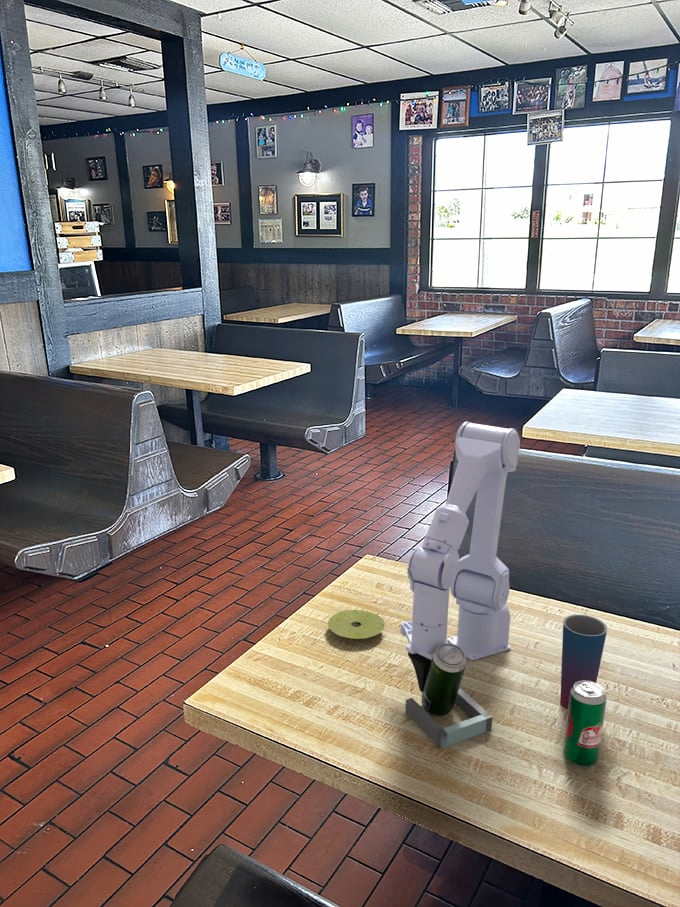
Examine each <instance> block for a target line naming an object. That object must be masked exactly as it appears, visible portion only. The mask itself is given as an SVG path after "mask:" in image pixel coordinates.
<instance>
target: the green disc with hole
mask: <svg viewBox="0 0 680 907" xmlns="http://www.w3.org/2000/svg"><path fill="white" fill-rule="evenodd" d="M327 625H328V628H329V629H330V631H331V632H333V633H334V634H335V635H337V636H340V637H344V638H348V639H351V640H352V639H354V640H356V639H358V640H361V639H369V638H372V637H374V636H377V635H379V634H381V632H383V631H384V628H385V621H384V619H383V618H382V617H381V616H380V615H378V614H377V613H374V612H372V611H368V610H362V609H348V610H342V611H338V612H336V613H335V614H333V615H332V616H331V617H329V619H328V622H327Z"/></svg>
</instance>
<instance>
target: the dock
mask: <svg viewBox="0 0 680 907" xmlns="http://www.w3.org/2000/svg"><path fill="white" fill-rule="evenodd" d="M454 706H456V707H457V708H459V710H460V711H461V712H463V713H464V714H465V715H466V716H467V717H468V718H469V719H465V720H463V721H460V722H457V723H454V724H451V725H449V726H446V727H442V726H441V725H440V724H439V723H438V722H437V721H436V719H434V718H433V716H432V715H430V714H428V713H427V712H426V711H425V709H424V708H423V706H421V705H420V704H419V702H417V700H415V698H413V697H410V698H406V699H405V707H404V708H405V710H404V711H405V714H406V715H407V717H409V718H410V719H411V720H412V722H413V723H414V724H415V725H417V727H418V728H419V729H420V730H421V731H422V732H423V733H424V734H425V735H426V736H427V737H428V739H430V740H431V741H432V743H434V745H435V746H436V747H437V748H438V749H439V750H442V749H444V748H447V747H450V746H452V745H455V744H457V743H460V742H463V741H466V740H469V739H473V738H474V737H477V736H479V735H481V734H482V735H483V734H485V733H488V732H489V731H490V732H491V731H492V728H493V716H492V715H491V714H490V713H489V712H488V711H487V710H486V709H485V708H484V707H483V706H481V705H480V704H478V702H476V701H475V700H474V699H473V698H472V697H471V696H470V695H469V694H467V693H466V691H464V690H463V689H462V688H461V687H459V690H458V694H457V697H456V701H455V704H454Z"/></svg>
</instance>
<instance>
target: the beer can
mask: <svg viewBox="0 0 680 907" xmlns="http://www.w3.org/2000/svg"><path fill="white" fill-rule="evenodd" d="M466 666H467V657H466V654H465V652H464V651H463V650H462V649H461V648H460V647H459V646H457V645H455V644H451V643H449V642H447V643H443V644H440V645H439V646H437V648H436V650H435V651H434V653H433V656H432V659H431V663H430V667H429V671H428V675H427V679H426V683H425V686H424V690H423V693H422V694H421V700H420V701H421V705H422V708H423V709H424V710H425V711H426V712H427V713H428V714H429V715H430V716H431V717H435V718H445V717H447V716H448V715H449V714H450V713H452V711H453V709H454V707H455V701H456V697H457V694H458V690H459V687H460V686H461V684H462V680H463V677H464V673H465V670H466ZM460 688H461V687H460Z"/></svg>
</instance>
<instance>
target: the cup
mask: <svg viewBox="0 0 680 907" xmlns="http://www.w3.org/2000/svg"><path fill="white" fill-rule="evenodd" d="M607 632H608V627H607V625H606V624H605V623H604V622H603V621H602V620H600V619H599V618H597V617H594V616H590V615H586V614H570V615H568V616H566V617H565V618H564V619H563V622H562V647H561V668H560V669H561V671H560V674H561V676H560V695H559V696H560V700H559V702H560V705H561V707H563V708H564V709H565V710H567V711H568V706H569V697H570V690H571V689H572V688H573V686H574V684H575V683H576V682H577V681H581V680H587V681H592V682H595V683H597V680H598V676H599V671H600V668H601V667H600V666H601V662H602V657H603V652H604V649H605V648H604V647H605V643H606V638H607V634H608V633H607Z"/></svg>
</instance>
